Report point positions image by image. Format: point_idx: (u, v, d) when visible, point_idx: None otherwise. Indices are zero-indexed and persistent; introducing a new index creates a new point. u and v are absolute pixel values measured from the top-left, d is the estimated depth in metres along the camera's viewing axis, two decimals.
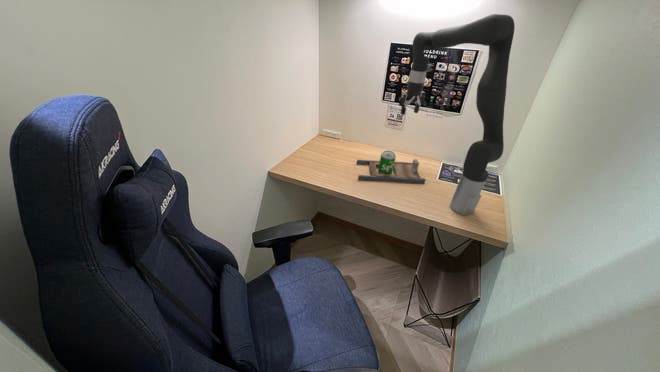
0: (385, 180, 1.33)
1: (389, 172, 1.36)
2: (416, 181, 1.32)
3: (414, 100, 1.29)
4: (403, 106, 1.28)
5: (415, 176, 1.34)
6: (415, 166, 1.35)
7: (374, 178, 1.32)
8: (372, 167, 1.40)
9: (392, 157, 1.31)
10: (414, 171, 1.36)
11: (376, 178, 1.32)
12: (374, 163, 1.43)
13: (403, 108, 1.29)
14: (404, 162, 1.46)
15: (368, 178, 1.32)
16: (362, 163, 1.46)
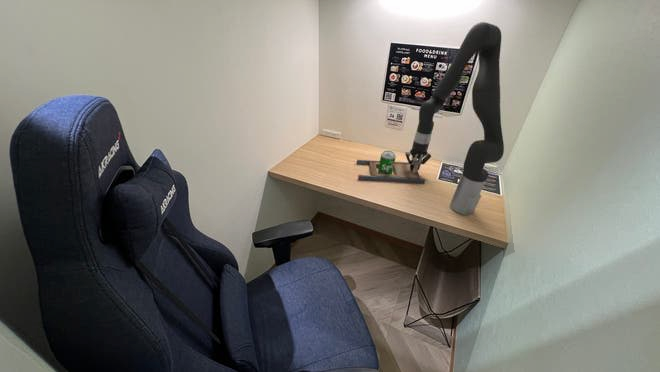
0: (385, 180, 1.33)
1: (389, 172, 1.36)
2: (416, 181, 1.32)
3: None
4: None
5: (415, 176, 1.34)
6: (415, 166, 1.35)
7: (374, 178, 1.32)
8: (372, 167, 1.40)
9: (392, 157, 1.31)
10: (414, 171, 1.36)
11: (376, 178, 1.32)
12: (374, 163, 1.43)
13: None
14: (404, 162, 1.46)
15: (368, 178, 1.32)
16: (362, 163, 1.46)
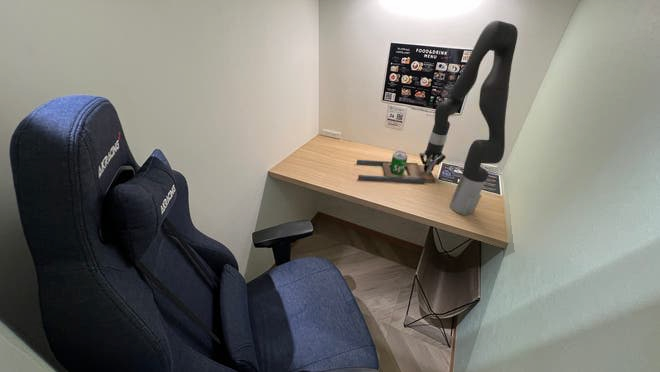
0: (385, 180, 1.33)
1: (401, 173, 1.36)
2: (416, 181, 1.32)
3: None
4: None
5: (430, 177, 1.34)
6: (429, 167, 1.35)
7: (374, 178, 1.32)
8: (386, 168, 1.40)
9: (404, 158, 1.31)
10: (428, 172, 1.36)
11: (376, 178, 1.32)
12: (387, 164, 1.43)
13: None
14: None
15: (368, 178, 1.32)
16: (362, 163, 1.46)
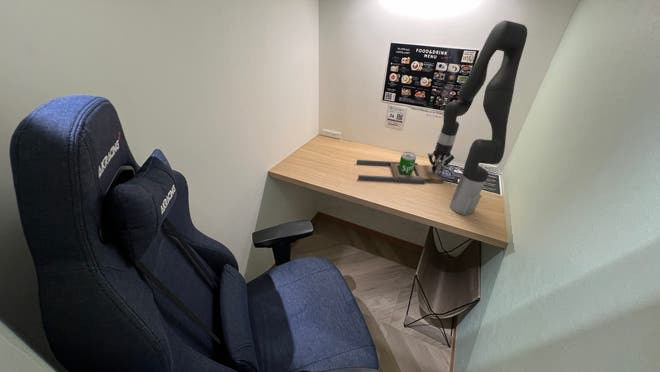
0: (385, 180, 1.33)
1: (409, 173, 1.36)
2: (416, 181, 1.32)
3: None
4: None
5: (438, 177, 1.34)
6: (437, 168, 1.35)
7: (374, 178, 1.32)
8: (394, 168, 1.40)
9: (413, 158, 1.31)
10: (436, 172, 1.36)
11: (376, 178, 1.32)
12: (395, 164, 1.43)
13: None
14: None
15: (368, 178, 1.32)
16: (362, 163, 1.46)
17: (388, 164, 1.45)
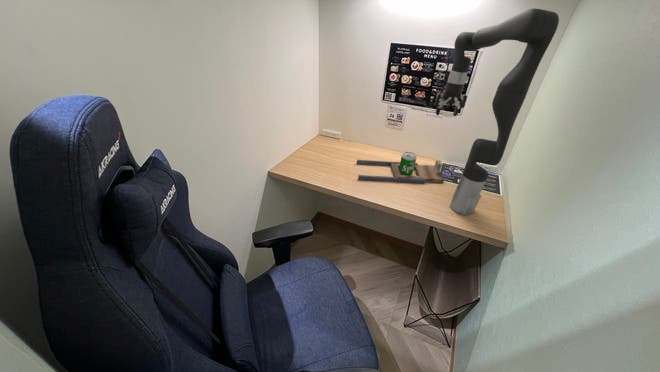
0: (385, 180, 1.33)
1: (409, 173, 1.36)
2: (416, 181, 1.32)
3: None
4: None
5: (439, 177, 1.34)
6: (438, 168, 1.35)
7: (374, 178, 1.32)
8: (394, 168, 1.40)
9: (413, 158, 1.31)
10: (437, 172, 1.36)
11: (376, 178, 1.32)
12: (396, 164, 1.43)
13: None
14: None
15: (368, 178, 1.32)
16: (362, 163, 1.46)
17: (388, 164, 1.45)
